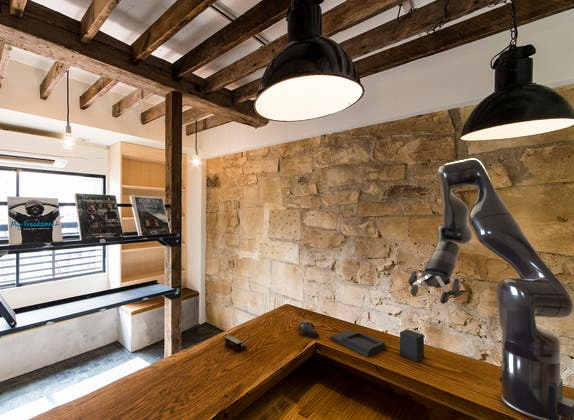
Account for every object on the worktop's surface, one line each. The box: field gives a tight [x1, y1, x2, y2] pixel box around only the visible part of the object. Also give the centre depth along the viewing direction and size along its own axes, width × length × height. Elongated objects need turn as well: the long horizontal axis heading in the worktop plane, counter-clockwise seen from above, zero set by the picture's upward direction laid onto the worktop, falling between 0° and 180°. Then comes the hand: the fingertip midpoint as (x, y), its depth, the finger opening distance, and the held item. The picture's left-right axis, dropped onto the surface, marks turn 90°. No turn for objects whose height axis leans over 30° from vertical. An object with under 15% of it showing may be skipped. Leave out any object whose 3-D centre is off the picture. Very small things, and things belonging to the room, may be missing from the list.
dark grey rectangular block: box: [399, 328, 425, 363], centre depth 90 cm, size 5×5×8 cm
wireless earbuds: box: [224, 334, 248, 353], centre depth 95 cm, size 5×7×3 cm, turn 41°
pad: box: [330, 329, 387, 358], centre depth 99 cm, size 14×12×2 cm
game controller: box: [298, 321, 320, 339], centre depth 108 cm, size 10×5×6 cm
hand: (427, 298), depth 96 cm, fingers open, 8 cm apart
